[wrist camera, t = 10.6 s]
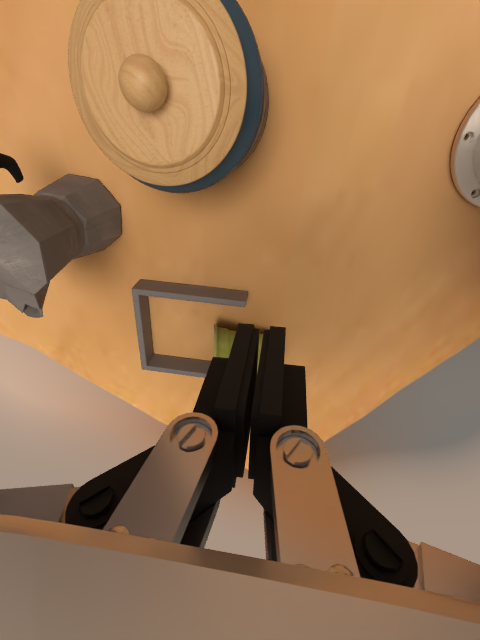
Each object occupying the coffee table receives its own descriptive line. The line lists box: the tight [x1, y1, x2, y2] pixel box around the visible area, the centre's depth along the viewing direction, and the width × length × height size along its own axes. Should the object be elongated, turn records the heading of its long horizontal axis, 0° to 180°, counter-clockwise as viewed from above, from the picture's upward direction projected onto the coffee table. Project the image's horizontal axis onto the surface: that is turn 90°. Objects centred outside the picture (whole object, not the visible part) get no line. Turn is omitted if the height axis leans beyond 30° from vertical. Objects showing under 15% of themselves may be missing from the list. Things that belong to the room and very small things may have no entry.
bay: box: [132, 279, 248, 378], centre depth 44 cm, size 15×14×3 cm
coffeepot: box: [0, 153, 122, 318], centre depth 30 cm, size 15×9×18 cm, turn 14°
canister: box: [68, 0, 269, 193], centre depth 24 cm, size 13×13×18 cm
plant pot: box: [214, 324, 263, 372], centre depth 42 cm, size 9×9×9 cm
